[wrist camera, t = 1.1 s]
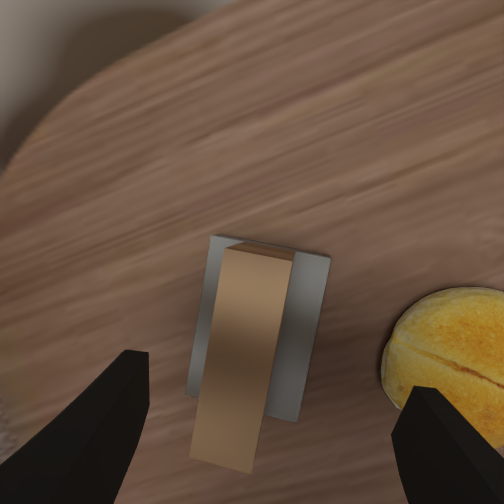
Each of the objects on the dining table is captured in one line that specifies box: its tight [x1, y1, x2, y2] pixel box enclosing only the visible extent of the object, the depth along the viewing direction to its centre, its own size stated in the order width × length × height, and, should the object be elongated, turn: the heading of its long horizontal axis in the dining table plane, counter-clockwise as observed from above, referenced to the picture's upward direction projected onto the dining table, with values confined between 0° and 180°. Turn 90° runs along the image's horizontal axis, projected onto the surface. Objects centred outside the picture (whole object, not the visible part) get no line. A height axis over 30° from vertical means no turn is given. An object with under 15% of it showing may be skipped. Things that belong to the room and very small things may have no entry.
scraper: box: [185, 234, 331, 475], centre depth 19 cm, size 10×7×7 cm
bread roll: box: [381, 287, 504, 449], centre depth 19 cm, size 8×9×4 cm
